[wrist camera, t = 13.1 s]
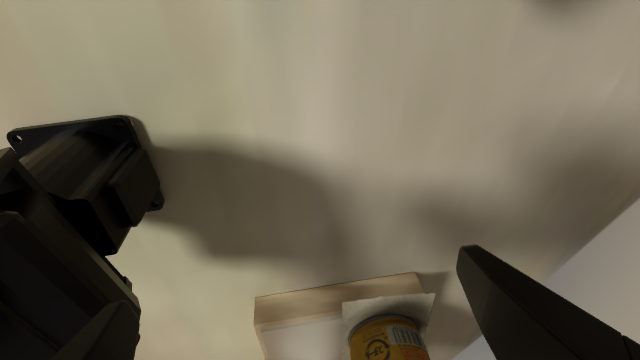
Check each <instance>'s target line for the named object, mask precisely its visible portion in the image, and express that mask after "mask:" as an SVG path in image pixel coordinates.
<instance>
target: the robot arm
mask: <svg viewBox="0 0 640 360" xmlns="http://www.w3.org/2000/svg"><path fill="white" fill-rule="evenodd" d="M117 122H121V123H122V124H123V125H124V127H120V126H118V124H117ZM17 135H18V136H20V137H21V138H22V140H20V139H19V138H18V137H17ZM7 140H8V142H9V143H10V145H11V146H12V148H13V149H14V150H15V151H14V150H13V149H12V148H11V147H7V148H4V149H1V150H0V360H134V356H135V350H136V346H137V344H138V342H139V340H140V334H139V325H140V324H139V321H140V315H141V308H140V305H139V301H138V298H137V297H136V296H135V295H134V294H133V292H132V283H131V282H130V281H129V280H128V278H127V277H125V276H124V277H123V276H122V275H121V274H120V273H119V272H118V271H117V269H116V268H115V267H114V266H113V265H112V264H111V263H110V262H109V261H108V259H107V258H106V257H105V256H108V255H114V254H116V253H117V252H118V250H119V249H120V247H121V245H122V243H123V241H124V240H125V238H126V236H127V234H128V232H129V231H130V229H131V227H137V226H138V224H139V223H140V221H141V219H142V218H143V216H144V214H145V212H149V211H156V210H160V209H161V208H162V207H163V205H164V198H163V196H162V193H161V191H160V189H159V186H160V182H159V179H158V177H157V175H156V172H155V170H154V168H153V165H152V163H151V161H150V158H149V156H148V154H147V151H146V150H145V149H143V148H142V147H141V145H140V143H139V140H138V138H137V136H136V133H135V131H134V129H133V126H132V124H131V122H130V120H129V119H128V118H127V117H125V116H123V115H113V116H106V117H98V118H91V119H83V120H75V121H68V122H60V123H53V124H45V125H37V126H30V127H22V128H16V129H13V130H12V131H10V132H8V134H7ZM16 153H17V154H16ZM153 201H156V202H158V203H159V204H155V203H154V202H153ZM456 271H457V275H458V278H459V280H460V282H461V285H462V287H463V290H464V292H465V294H466V297H467V299H468V302H469V304H470V306H471V309H472V311H473V314H474V316H475V318H476V321H477V323H478V325H479V327H480V329H481V331H482V333H483V335H484V337H485V339H486V341H487V343H488V344H489V346H490V348H491V350H492V352H493V353H494V355H495V357H496V359H497V360H640V344H638V343H636V342H635V341H633V340H631V339H630V338H628V337H626V336H624V335H623V336H622V335H621V333H620V332H618V331H617V330H615V329H613V328H612V327H610V326H608V325H607V324H605V323H604V322H602V321H600V320H599V319H597V318H595V317H594V316H592V315H590V314H589V313H587V312H586V311H584V310H582V309H581V308H579V307H577V306H576V305H574V304H573V303H571V302H569V301H568V300H566V299H564V298H563V297H561V296H560V295H558V294H556V293H555V292H553V291H551V290H550V289H548V288H546V287H545V286H543V285H542V284H540V283H538V282H537V281H535V280H534V279H532V278H530V277H529V276H527V275H525V274H524V273H522V272H521V271H519V270H517V269H516V268H514V267H512V266H511V265H509V264H507V263H506V262H504V261H503V260H501V259H499V258H498V257H496V256H494V255H493V254H491V253H490V252H488V251H486V250H485V249H483V248H481V247H480V246H478V245H474V244H473V245H467V246H462V247H461V248H460V250H459V254H458V260H457V265H456Z"/></svg>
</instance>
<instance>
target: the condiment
mask: <svg viewBox="0 0 640 360" xmlns="http://www.w3.org/2000/svg"><path fill="white" fill-rule="evenodd" d="M435 294H436V293H428V294H424V293H420V294H409V295H396V296H388V297H382V296H380V297H378V298H373V299H362V300H357V301H351V302H342V355H341V360H430V358H429V355H428V352H427V350H426V347H425V345H424V342H423V340H424V335H425V331H426V327H427V325H428V324H427V323H428V322H429V317H430V313H431V308H432V305H433V302H434V298H435ZM368 314H369V315H368Z"/></svg>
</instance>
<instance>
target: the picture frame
mask: <svg viewBox="0 0 640 360" xmlns="http://www.w3.org/2000/svg"><path fill="white" fill-rule="evenodd" d="M420 293H424V291H423V288H422V286H421V284H420V282H419V280H418V278H417V276H416V274H415V272H411V273H405V274H398V275H392V276H386V277H380V278H374V279H368V280H361V281H355V282H349V283H343V284H337V285H331V286H324V287H318V288H312V289H306V290H300V291H294V292H287V293H281V294H275V295H269V296H263V297H257V298H255V309H254V328H255V331H256V334H257V337H258V339H259V342H260V345H261V348H262V351H263V354H264V357H265V360H341V355H342V302H351V301H357V300H362V299H373V298H378V297H380V296H382V297H388V296H396V295H409V294H420ZM424 294H425V293H424ZM368 315H369V314H368Z"/></svg>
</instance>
